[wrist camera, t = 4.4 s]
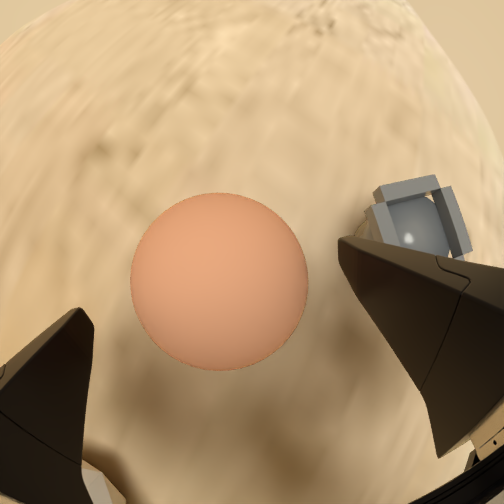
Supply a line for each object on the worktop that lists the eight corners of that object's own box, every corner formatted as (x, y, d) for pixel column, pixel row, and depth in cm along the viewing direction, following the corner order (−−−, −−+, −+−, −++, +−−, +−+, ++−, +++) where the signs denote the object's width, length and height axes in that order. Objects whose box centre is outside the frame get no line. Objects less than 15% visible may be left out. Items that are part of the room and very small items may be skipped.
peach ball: (319, 262, 14) (364, 229, 8) (251, 380, 13) (250, 431, 7) (204, 198, 14) (174, 129, 8) (137, 310, 13) (65, 308, 8)
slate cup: (425, 277, 19) (476, 265, 13) (359, 301, 19) (399, 297, 13) (402, 204, 20) (445, 172, 14) (335, 221, 20) (365, 189, 14)
